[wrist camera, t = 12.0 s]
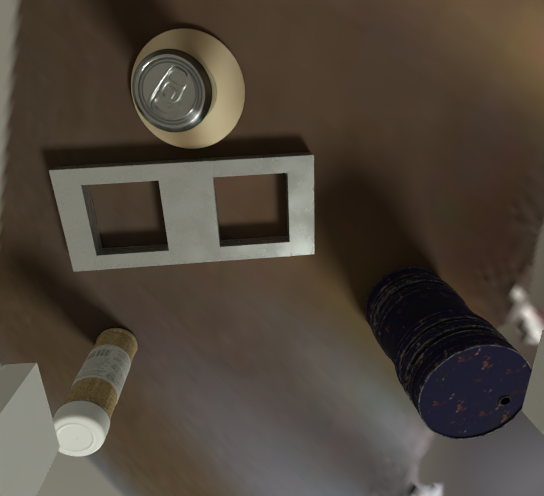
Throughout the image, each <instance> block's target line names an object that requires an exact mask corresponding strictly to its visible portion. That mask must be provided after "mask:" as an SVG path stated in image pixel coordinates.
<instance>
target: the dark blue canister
mask: <svg viewBox="0 0 544 496" xmlns="http://www.w3.org/2000/svg"><path fill="white" fill-rule="evenodd" d="M365 314H366V319H367V321H368V323H369V325H370V327H371V328H372V331H373V334H374V336H375V338H376V340H377V342H378V343H379V345H380V346H381V348H382V349H383V351H384V352H385V354H386V355H387V356H388V357H389V358H390V359H391V360H392V362H393V363H394V365H395V370H396V373H397V377H398V379H399V381H400V383H401V385H402V386H403V388H404V390H405V392H406V394H407V395H408V397H409V399H410V400H411V402H412V403H413V404H414V406H415V407H416V409H417V411H418V413H419V415H420V416H421V418H422V420H423V421H424V423H425V425H426V426H427V427H428V428H429V429H430V430H432V431H433V432H435V433H436V434H438V435H441V436H443V437H447V438H452V439H471V438H477V437H481V436H484V435H487V434H489V433H492V432H494V431H496V430H498V429H500V428H502V427H503V426H505V425H506V424H508V423H509V422H510V421H511V420H513V419H514V418H515V417H516V416H517V415H518V414H519V413H520V412H521V410H522V407H523V403H524V399H525V395H526V392H527V388H528V384H529V380H530V376H531V373H532V369H531V367H530V364H529V363H528V362H527V360H526V359H525V358H524V357H523V356H522V355H521V354H520V353H519V352H518V351H517V350H516V349H514V347H512V345H511V344H510V343H509V342H508V341H507V339H506V338H505V337H504V336H503V335H501V334H500V333H499V332H498V331H497V330H496V329H495V328H494V327H493V326H492V325H491V324H490V323H489V322H488V321H487V320H485V319H483V318H482V317H480V316H478V315H476V314H474V313H473V312H472V311H471V310H470V309H469V308H468V306H467V304H466V303H465V302H464V300H463V299H462V298H461V297H460V296H459V295H458V294H457V293H456V291H455V290H454V289H453V288H451V287H450V286H449V285H448V284H447V283H446V282H444V281H442V280H441V279H440V278H439V277H438V276H437V275H436V274H435V273H433V272H432V271H430V270H428V269H425V268H421V267H413V266H410V267H403V268H399V269H396V270H394V271H391V272H389V273H388V274H386V275H384V276H383V277H382V278H380V279H379V280H378V281H377V282H376V283H375V285H374V286H373V287H372V289H371V290H370V292H369V294H368V296H367V299H366V304H365Z"/></svg>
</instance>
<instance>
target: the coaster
mask: <svg viewBox="0 0 544 496" xmlns="http://www.w3.org/2000/svg"><path fill="white" fill-rule="evenodd" d="M161 49H178V50H181V51H184V52H186V53H188V54H190V55H191V56H193V57H194V58H195V59H197V60H198V61H199V62H200V63H201V64H203V65H204V66H205V67H206V68H207V69H208V70H209V71H210V72H211V74H212V75H213V77H214V79H215V82H216V85H217V99H216V103H215V105H214V107H213V109H212V110H211V112H210V113H209V114H208V115H207V116H206V117H205V118H204V120H203V121H202V122H201V123H200V124H198V125H197V126H196V127H194V128H192V129H190V130H188V131H184V132H176V133H174V132H167V131H163V130H161V129H158V128H156V127H155V126H153V125H152V124H150V123H149V122H148V121H147V120H146V119H145V118H144V117H143V116H142V115H141V113H140V111H139V110H138V108H137V106H136V104H135V101H134V97H133V91H132V82H133V77H134V74H135V71H136V69H137V67H138V65H139V64H140V62H141V61H142V60H143V59H144V58H145V57H146V56H147V55H149V54H151V53H152V52H155V51H157V50H161ZM131 92H132V98H133V102H134V105H135V108H136V110H137V112H138V114H139V116H140V118H141V120H142V121H143V123H144V124H145V125H146V126H147V128H148V129H149V130H150V131H151V132H152V133H153V134H154V135H156V136H157V137H158V138H160V139H161V140H163V141H165V142H167V143H169V144H171V145H174V146H177V147H181V148H187V149H196V148H203V147H207V146H210V145H212V144H215V143H217V142H218V141H220V140H222V139H223V138H224V137H225V136H227V135H228V134H229V133H230V132H231V131H232V129H233V128H234V127H235V125H236V124H237V122H238V120H239V118H240V115H241V113H242V110H243V106H244V99H245V87H244V80H243V76H242V73H241V70H240V67H239V65H238V63H237V61H236V59H235V58H234V56H233V55H232V54H231V52H230V51H229V50H228V49H227V48H226V47H225V46H224V45H223V44H222V43H221V42H220V41H219V40H217V39H216V38H214V37H213V36H211V35H209V34H207V33H204V32H201V31H198V30H194V29H173V30H170V31H166V32H164V33H162V34H159V35H158V36H156V37H155V38H153V39H152V40H151V41H150V42H148V43H147V44H146V45H145V47H144V48H143V49H142V50H141V52H140V54H139V55H138V57H137V59H136V61H135V64H134V67H133V70H132V77H131Z"/></svg>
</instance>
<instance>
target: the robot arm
mask: <svg viewBox="0 0 544 496" xmlns="http://www.w3.org/2000/svg"><path fill="white" fill-rule="evenodd" d="M522 412H523V413H524V414H525V415H526V416H527V417H528V418H529V419H530V420H531V422H532V423H533V424H534V425H535V426H536V427H537V428H538V429H539V430H540V432H541V433H542V434H543V435H544V330H543V331H542V335H541V339H540V342H539V346H538V350H537V354H536V357H535V362H534V365H533V369H532V373H531V376H530V380H529V384H528V388H527V392H526V395H525V399H524V403H523V407H522ZM59 448H60V445H59V441H58V438H57V434H56V431H55V427H54V423H53V420H52V416H51V412H50V409H49V405H48V402H47V398H46V394H45V391H44V387H43V383H42V380H41V376H40V373H39V369H38V365H37V363H25V364H9V365H4V366H3V367H2V368H1V369H0V496H36V495H37V493H38V491H39V489H40V487H41V485H42V483H43V481H44V479H45V477H46V475H47V473H48V470H49V469H50V466H51V464H52V462H53V460H54V458H55V456H56V454H57V452H58V450H59Z"/></svg>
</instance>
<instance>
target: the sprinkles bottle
mask: <svg viewBox="0 0 544 496" xmlns="http://www.w3.org/2000/svg"><path fill="white" fill-rule="evenodd" d="M137 348H138V345H137V341H136V338H135V337H134V335H133V334H132V333H130V332H129V331H127V330H125V329H121V328H110V329H107V330H105V331H103V332H102V333H101V334H100V335H99V336H98V338H97V340H96V344H95V346H94V348H93V350H92V351H91V352H90V353H89V355H88V357H87V359H86V361H85V363H84V364H83V366H82V368H81V370H80V372H79V373H78V375H77V377H76V379H75V381H74V383H73V385H72V387H71V390H70V392H69V394H68V396H67V398H66V400H65V402H64V404H63V405H62V406H61V408H59V409H58V411H57V412H56V414H55V416H54V418H53V423H54V427H55V431H56V434H57V438H58V441H59V445H60V448H59V450H58V451H59V452H61V453H63V454H66V455H70V456H85V455H89V454H91V453H93V452H95V451H97V450H98V449H99V448H100V447H101V446H102V444H103V442H104V440H105V438H106V435H107V432H108V430H109V426H110V418H111V415H112V413H113V410H114V407H115V405H116V404H117V401H118V399H119V396H120V393H121V391H122V388H123V385H124V383H125V380H126V377H127V374H128V372H129V369H130V365H131V362H132V359H133V357H134V355H135V354H136V351H137Z"/></svg>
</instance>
